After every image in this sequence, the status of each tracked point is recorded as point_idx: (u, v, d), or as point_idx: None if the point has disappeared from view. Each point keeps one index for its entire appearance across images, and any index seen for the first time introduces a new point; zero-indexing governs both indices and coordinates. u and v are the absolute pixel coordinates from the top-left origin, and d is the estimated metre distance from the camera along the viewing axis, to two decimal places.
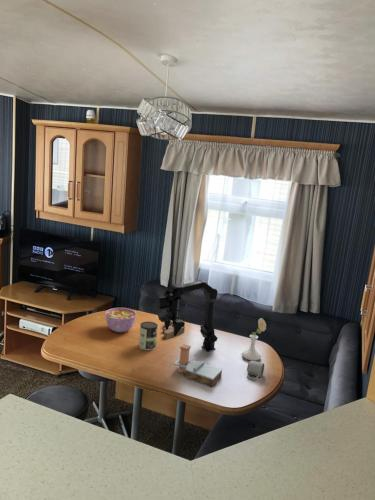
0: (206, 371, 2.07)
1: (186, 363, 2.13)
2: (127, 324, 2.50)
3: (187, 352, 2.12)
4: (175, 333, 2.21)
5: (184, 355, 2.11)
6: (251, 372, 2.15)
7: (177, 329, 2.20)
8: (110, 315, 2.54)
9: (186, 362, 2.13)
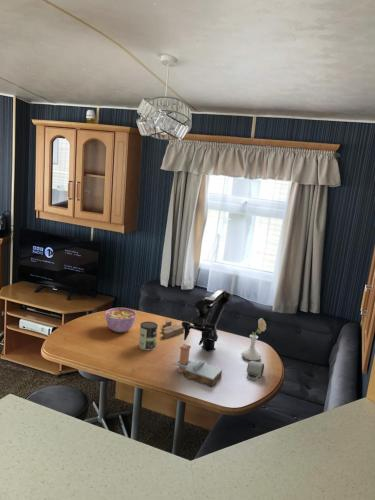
0: (206, 371, 2.07)
1: (186, 363, 2.13)
2: (127, 324, 2.50)
3: (187, 352, 2.12)
4: (201, 341, 2.18)
5: (184, 355, 2.11)
6: (251, 372, 2.14)
7: (204, 338, 2.19)
8: (110, 315, 2.54)
9: (186, 362, 2.13)
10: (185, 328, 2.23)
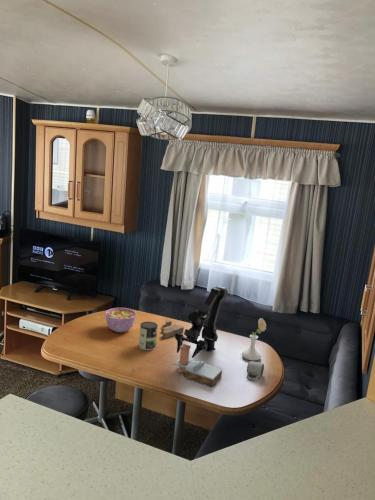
0: (206, 371, 2.07)
1: (186, 363, 2.13)
2: (127, 324, 2.50)
3: (187, 352, 2.12)
4: (194, 354, 2.12)
5: (184, 355, 2.11)
6: (251, 373, 2.14)
7: (197, 351, 2.14)
8: (110, 315, 2.54)
9: (186, 362, 2.13)
10: (178, 340, 2.17)
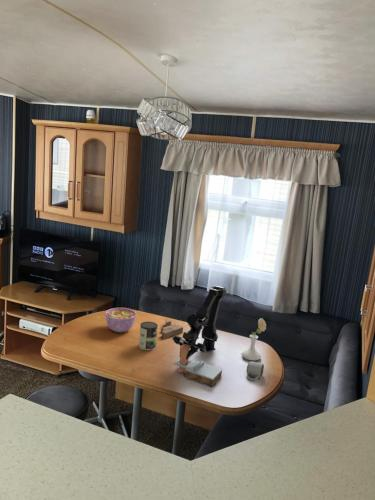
0: (206, 371, 2.07)
1: (186, 363, 2.13)
2: (127, 324, 2.50)
3: (187, 352, 2.12)
4: (188, 356, 2.12)
5: (184, 355, 2.11)
6: (250, 373, 2.14)
7: (191, 352, 2.14)
8: (110, 315, 2.54)
9: (186, 362, 2.13)
10: (181, 344, 2.15)
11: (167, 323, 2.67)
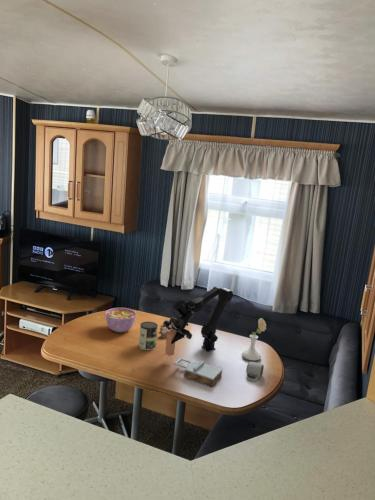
0: (206, 371, 2.07)
1: (172, 347, 2.20)
2: (127, 324, 2.50)
3: (172, 337, 2.19)
4: (174, 340, 2.19)
5: (169, 339, 2.19)
6: (250, 373, 2.13)
7: (177, 338, 2.20)
8: (110, 315, 2.54)
9: (172, 346, 2.20)
10: (169, 329, 2.23)
11: None
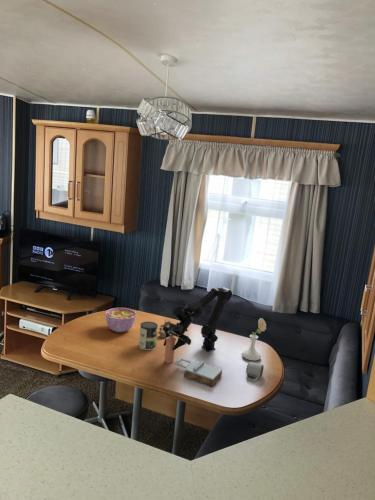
0: (206, 371, 2.07)
1: (171, 355, 2.21)
2: (127, 324, 2.50)
3: (172, 344, 2.20)
4: (175, 347, 2.18)
5: (169, 346, 2.20)
6: (250, 373, 2.13)
7: (179, 344, 2.20)
8: (110, 315, 2.54)
9: (171, 353, 2.21)
10: (166, 334, 2.24)
11: (166, 323, 2.67)
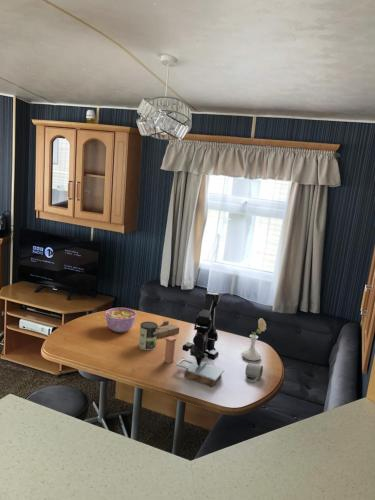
0: (208, 372, 2.06)
1: (171, 355, 2.21)
2: (127, 324, 2.50)
3: (172, 344, 2.20)
4: (200, 362, 2.09)
5: (169, 346, 2.20)
6: (249, 374, 2.12)
7: (202, 358, 2.09)
8: (110, 315, 2.54)
9: (171, 353, 2.21)
10: None
11: (164, 323, 2.68)
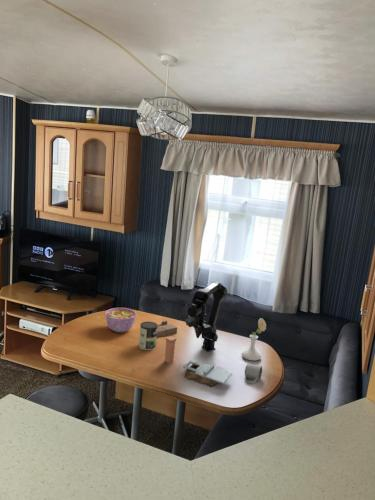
0: (216, 375, 2.04)
1: (171, 355, 2.21)
2: (127, 324, 2.50)
3: (172, 344, 2.20)
4: (198, 335, 2.25)
5: (169, 346, 2.20)
6: (248, 375, 2.11)
7: (200, 331, 2.25)
8: (110, 315, 2.54)
9: (171, 353, 2.21)
10: None
11: (163, 323, 2.68)
